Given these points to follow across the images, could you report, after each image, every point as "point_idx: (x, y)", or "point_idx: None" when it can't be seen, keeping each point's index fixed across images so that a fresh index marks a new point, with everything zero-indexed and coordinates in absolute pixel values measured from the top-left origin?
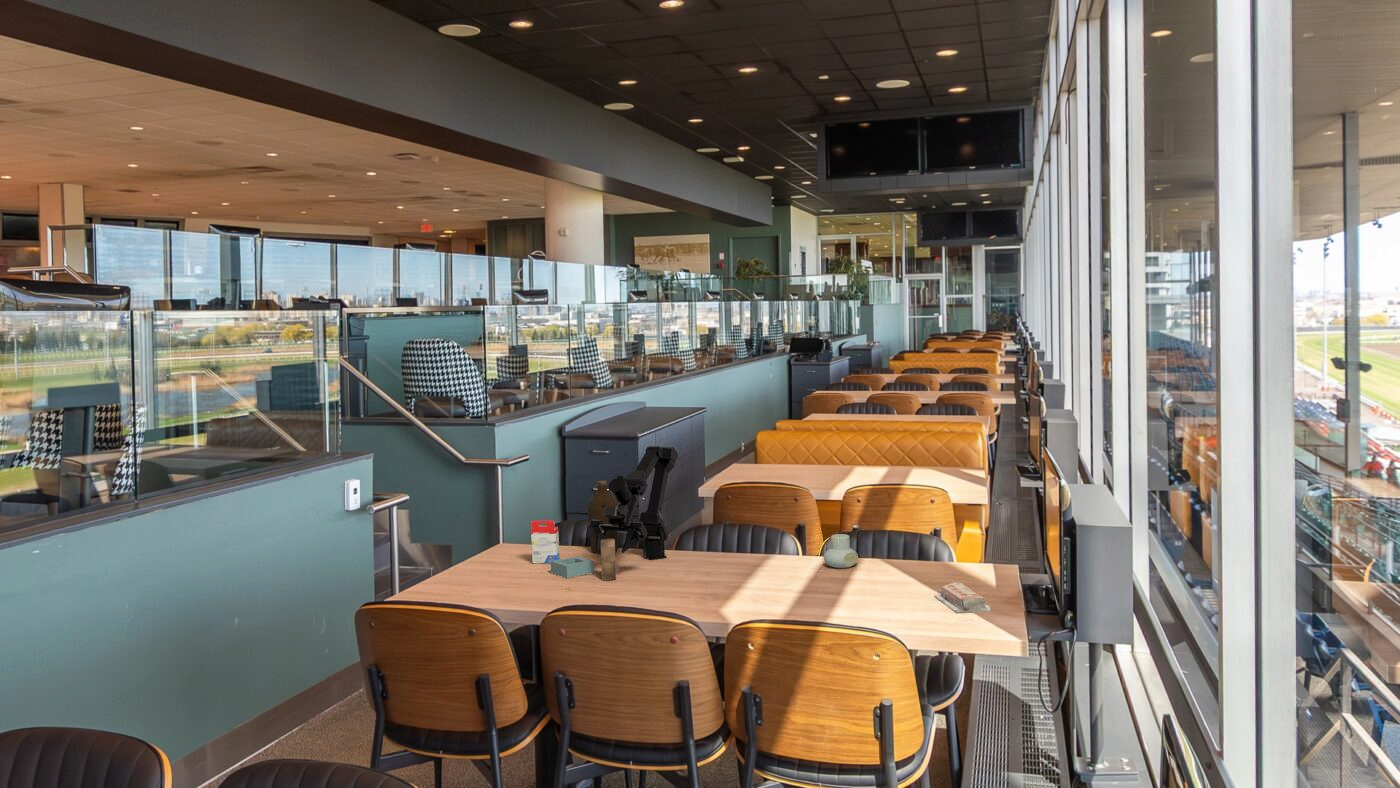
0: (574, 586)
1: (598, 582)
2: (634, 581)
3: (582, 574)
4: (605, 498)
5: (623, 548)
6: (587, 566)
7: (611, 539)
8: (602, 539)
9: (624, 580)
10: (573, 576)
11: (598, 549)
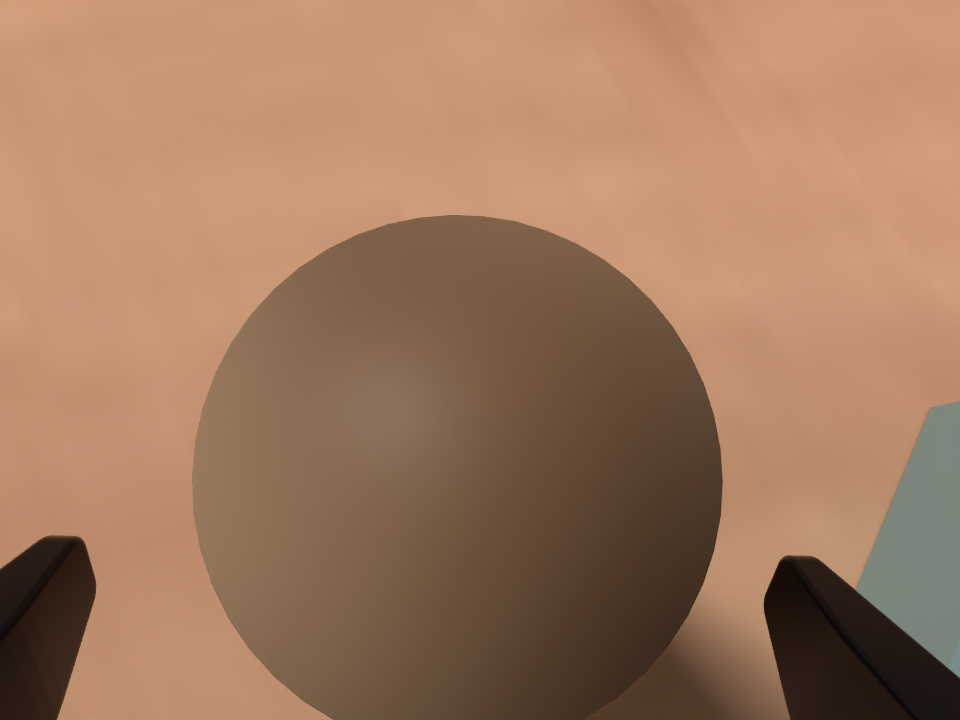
0: (656, 119)
1: None
2: (55, 496)
3: None
4: None
5: (2, 579)
6: None
7: (354, 581)
8: (691, 493)
9: None
10: (907, 484)
11: (779, 638)
